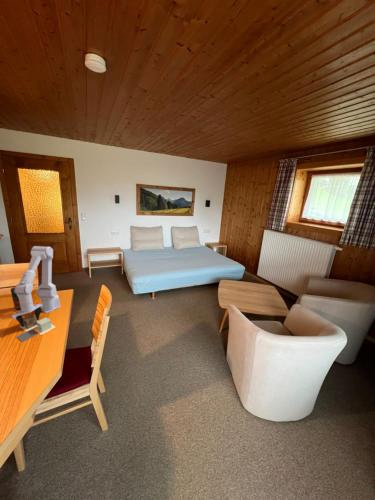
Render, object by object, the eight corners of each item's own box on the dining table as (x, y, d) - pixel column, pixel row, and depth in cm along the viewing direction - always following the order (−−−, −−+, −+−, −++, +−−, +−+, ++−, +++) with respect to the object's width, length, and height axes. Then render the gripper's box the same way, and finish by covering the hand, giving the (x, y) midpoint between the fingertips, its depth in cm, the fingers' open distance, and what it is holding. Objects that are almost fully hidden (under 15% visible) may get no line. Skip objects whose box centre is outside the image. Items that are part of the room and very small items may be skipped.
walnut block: (33, 321, 121) (32, 314, 120) (37, 324, 119) (36, 317, 118) (23, 325, 117) (22, 318, 116) (28, 329, 115) (26, 321, 113)
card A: (35, 319, 123) (35, 319, 123) (41, 324, 120) (41, 323, 120) (19, 326, 117) (19, 326, 117) (26, 331, 113) (26, 331, 113)
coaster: (30, 330, 114) (30, 329, 114) (37, 334, 111) (37, 334, 111) (16, 337, 109) (16, 336, 108) (22, 342, 105) (22, 341, 105)
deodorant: (28, 306, 136) (24, 287, 131) (18, 311, 130) (14, 291, 126) (22, 304, 137) (18, 285, 133) (12, 309, 132) (8, 289, 128)
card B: (48, 322, 122) (48, 322, 122) (55, 327, 118) (55, 326, 118) (33, 329, 115) (33, 329, 115) (41, 334, 111) (40, 334, 111)
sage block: (47, 324, 120) (46, 317, 118) (51, 327, 117) (50, 320, 116) (37, 329, 115) (36, 321, 114) (42, 332, 113) (41, 324, 112)
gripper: (36, 295, 122) (40, 314, 126) (7, 306, 109) (12, 327, 113) (43, 298, 119) (46, 318, 122) (13, 310, 106) (18, 331, 110)
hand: (30, 322), depth 118 cm, fingers open, 7 cm apart
